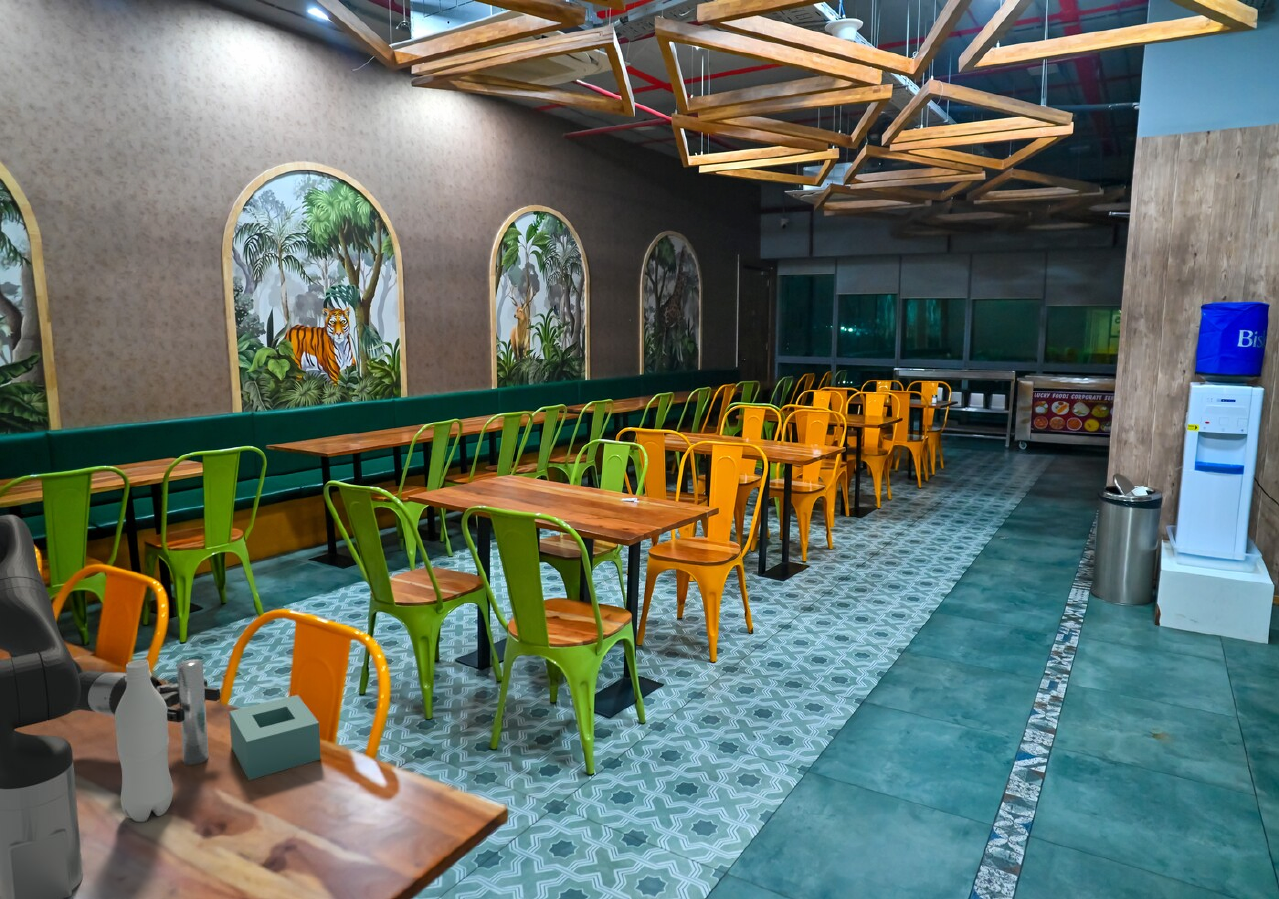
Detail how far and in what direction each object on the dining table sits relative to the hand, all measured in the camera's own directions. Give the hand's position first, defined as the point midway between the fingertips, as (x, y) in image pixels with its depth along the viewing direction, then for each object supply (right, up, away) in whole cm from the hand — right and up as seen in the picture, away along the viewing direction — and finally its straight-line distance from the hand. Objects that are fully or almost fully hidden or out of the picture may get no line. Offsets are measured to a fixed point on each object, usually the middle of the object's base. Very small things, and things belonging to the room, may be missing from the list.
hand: (201, 705), depth 146 cm
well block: (+11, -10, +4) cm, 16 cm away
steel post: (-2, -10, +2) cm, 11 cm away
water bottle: (-1, -13, -14) cm, 19 cm away
